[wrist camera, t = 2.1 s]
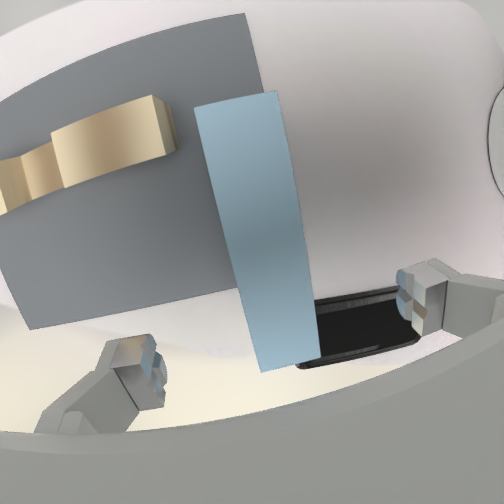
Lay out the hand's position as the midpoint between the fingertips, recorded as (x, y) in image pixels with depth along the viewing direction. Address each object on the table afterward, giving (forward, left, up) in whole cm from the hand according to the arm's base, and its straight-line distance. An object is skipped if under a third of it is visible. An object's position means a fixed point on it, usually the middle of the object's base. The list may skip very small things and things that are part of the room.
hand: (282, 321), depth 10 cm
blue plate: (0, 0, -16) cm, 16 cm away
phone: (-9, +15, -17) cm, 25 cm away
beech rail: (+13, -7, -16) cm, 22 cm away
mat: (+11, -4, -17) cm, 20 cm away
